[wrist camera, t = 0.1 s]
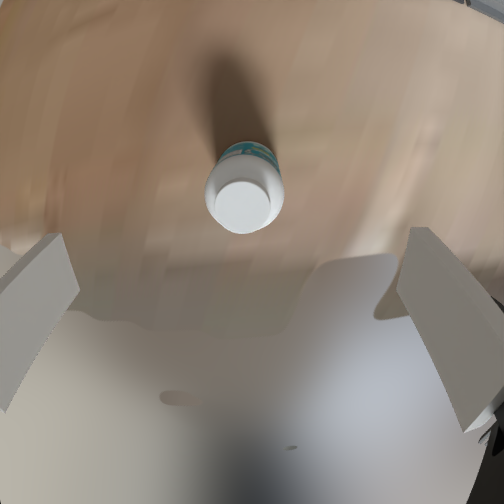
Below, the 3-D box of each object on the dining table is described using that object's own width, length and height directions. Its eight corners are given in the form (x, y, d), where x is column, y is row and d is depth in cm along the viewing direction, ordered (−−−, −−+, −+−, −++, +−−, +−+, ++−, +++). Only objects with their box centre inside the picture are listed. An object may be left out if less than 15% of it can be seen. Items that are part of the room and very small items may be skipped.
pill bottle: (289, 179, 37) (303, 225, 26) (238, 207, 39) (228, 262, 28) (258, 128, 34) (258, 148, 23) (206, 159, 36) (180, 194, 25)
